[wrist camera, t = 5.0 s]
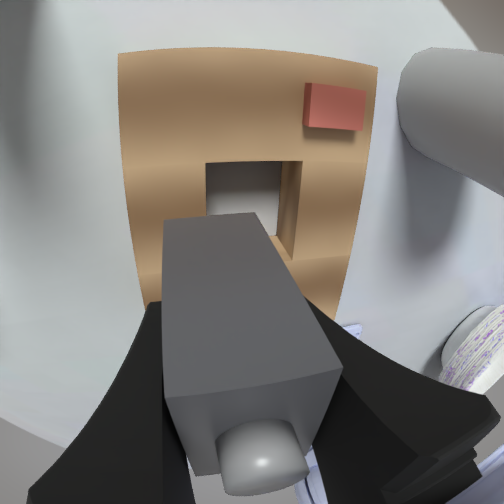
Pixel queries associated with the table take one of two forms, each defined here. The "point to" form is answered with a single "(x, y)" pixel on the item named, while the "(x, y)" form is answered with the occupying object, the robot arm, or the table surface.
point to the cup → (456, 111)
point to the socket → (248, 149)
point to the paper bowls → (475, 351)
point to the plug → (240, 354)
